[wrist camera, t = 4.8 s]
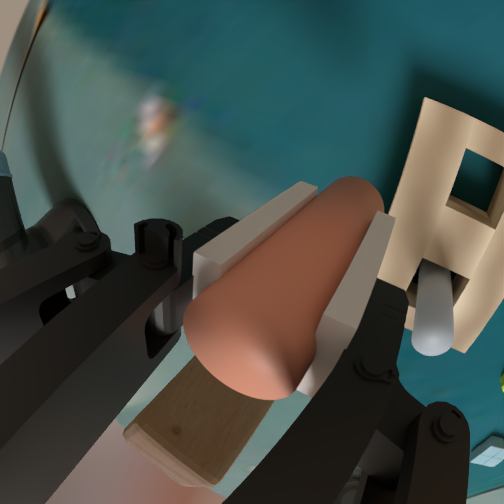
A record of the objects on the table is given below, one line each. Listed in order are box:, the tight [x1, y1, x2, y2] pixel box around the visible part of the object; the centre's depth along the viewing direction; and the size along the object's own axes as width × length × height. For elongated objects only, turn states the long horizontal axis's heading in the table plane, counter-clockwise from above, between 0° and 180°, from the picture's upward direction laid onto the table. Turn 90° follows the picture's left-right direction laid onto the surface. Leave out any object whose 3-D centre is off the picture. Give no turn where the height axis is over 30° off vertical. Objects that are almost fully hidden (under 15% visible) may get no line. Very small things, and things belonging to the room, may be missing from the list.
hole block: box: [377, 97, 504, 353], centre depth 22 cm, size 12×18×4 cm, turn 169°
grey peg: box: [412, 258, 454, 356], centre depth 22 cm, size 3×3×10 cm
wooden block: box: [123, 355, 275, 487], centre depth 34 cm, size 10×10×20 cm
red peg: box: [183, 176, 384, 400], centre depth 11 cm, size 3×3×10 cm
